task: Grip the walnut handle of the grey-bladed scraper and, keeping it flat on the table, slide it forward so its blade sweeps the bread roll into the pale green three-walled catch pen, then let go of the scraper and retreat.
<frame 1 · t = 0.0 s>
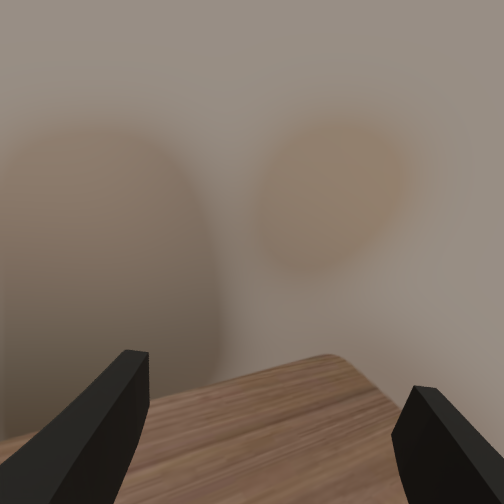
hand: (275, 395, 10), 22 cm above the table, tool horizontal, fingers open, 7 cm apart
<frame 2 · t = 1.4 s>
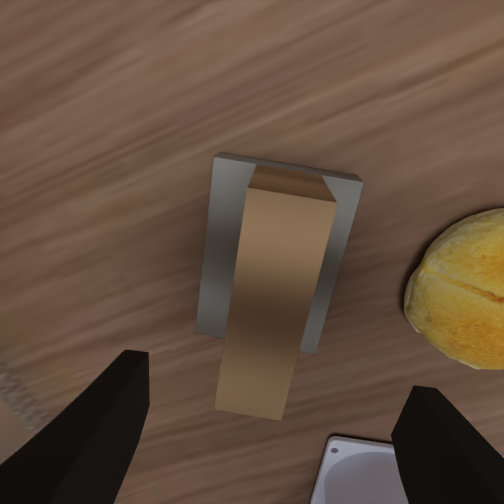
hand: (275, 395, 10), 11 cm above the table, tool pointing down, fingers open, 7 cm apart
scraper: (271, 251, 20), on the table
bread roll: (480, 279, 20), on the table
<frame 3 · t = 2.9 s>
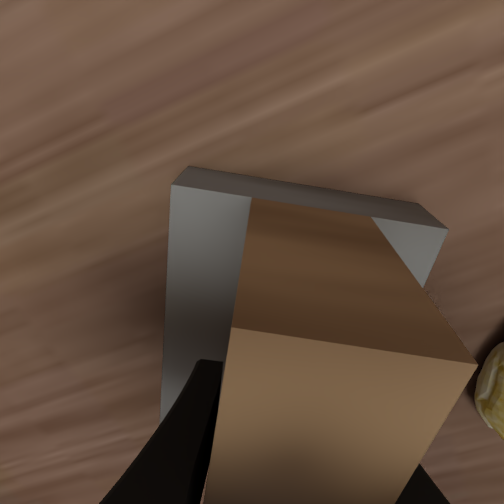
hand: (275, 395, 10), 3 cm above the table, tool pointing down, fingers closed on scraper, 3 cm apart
scraper: (274, 317, 13), on the table, touching gripper
when the fingers open (3 cm above the table, at t = 4.7 s): scraper moves 6 cm, on the table.
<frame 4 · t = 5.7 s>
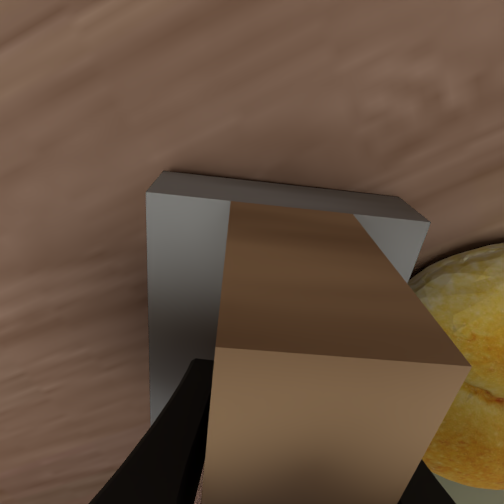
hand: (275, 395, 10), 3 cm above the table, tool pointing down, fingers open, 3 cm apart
scraper: (261, 320, 12), on the table, touching gripper
bread roll: (469, 340, 13), on the table
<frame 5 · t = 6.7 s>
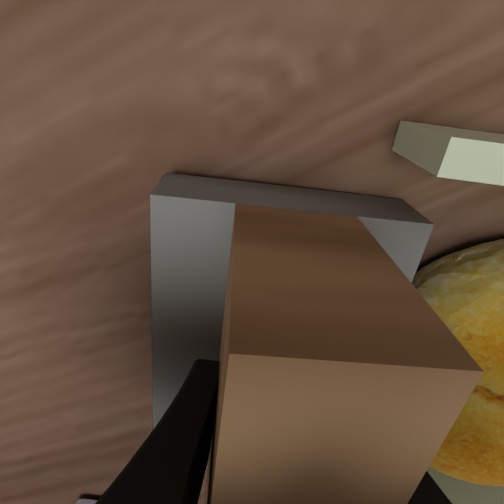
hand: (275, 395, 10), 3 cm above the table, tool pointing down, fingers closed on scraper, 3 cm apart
scraper: (264, 321, 12), on the table, touching bread roll, gripper
catch pen: (501, 345, 13), on the table
bread roll: (470, 337, 13), on the table, touching scraper
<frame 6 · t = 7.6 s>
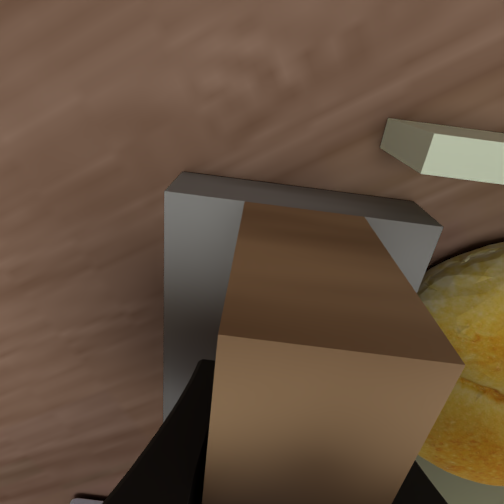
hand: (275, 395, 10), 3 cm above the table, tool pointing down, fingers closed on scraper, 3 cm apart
scraper: (274, 319, 13), on the table, touching bread roll, gripper
catch pen: (492, 344, 13), on the table
bread roll: (477, 337, 13), on the table, touching scraper
when the fingers open (3 cm above the table, at t = 8.7 s): scraper stays where it is, on the table.
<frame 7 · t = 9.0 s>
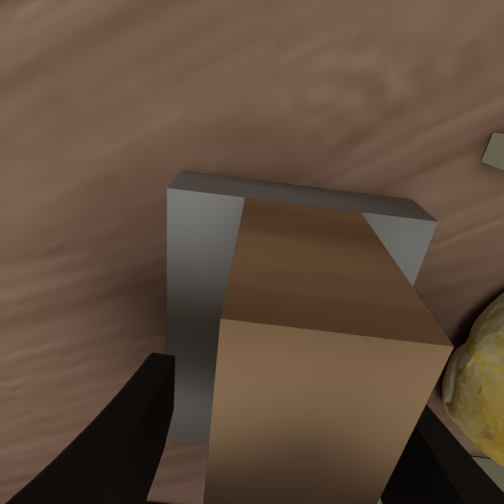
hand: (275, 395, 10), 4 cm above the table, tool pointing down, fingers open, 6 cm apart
scraper: (274, 314, 13), on the table
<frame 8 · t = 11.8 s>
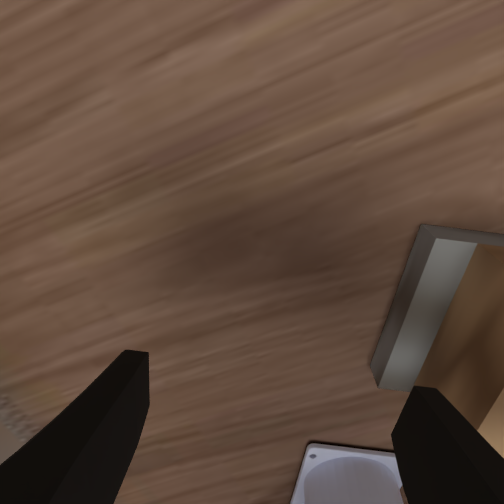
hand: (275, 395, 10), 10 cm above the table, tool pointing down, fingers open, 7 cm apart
scraper: (450, 308, 21), on the table
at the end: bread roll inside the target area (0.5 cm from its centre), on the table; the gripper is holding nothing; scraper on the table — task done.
